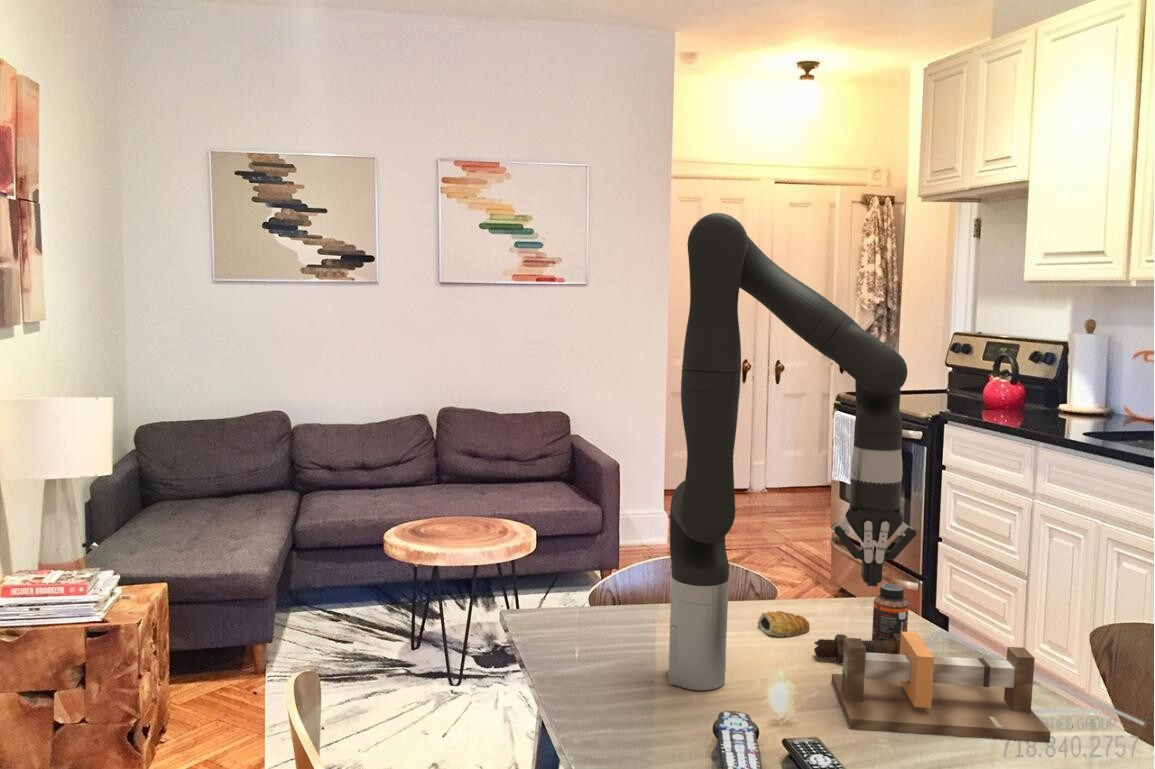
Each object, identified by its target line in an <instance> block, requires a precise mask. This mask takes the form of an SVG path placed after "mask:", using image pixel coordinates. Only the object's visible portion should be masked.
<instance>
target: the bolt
mask: <svg viewBox="0 0 1155 769" xmlns="http://www.w3.org/2000/svg"><path fill="white" fill-rule="evenodd" d="M844 638H848V637H847V635H845V634H842V633H841V634H839V633H838V634H835V636H834V639H829V638H827V639H826V638H825V639H824V638H819V639H818V640H817V641H814V645H816V647H814V654H815V656H816V657H817V658H820V659H821V658H823V659H824V658H825V659H826V658H827V659H828V658H829V659H835V662H837V663H838V664H843V651H844ZM900 638H901V634H893V639H892V641H890V640H884V641H872V639H871V640H869V639H868V640H865V639H863V640H862V642H863V644H864V646H865V648H866V652H867V653H885V654H900Z"/></svg>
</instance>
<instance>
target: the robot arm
mask: <svg viewBox="0 0 1155 769" xmlns="http://www.w3.org/2000/svg"><path fill="white" fill-rule="evenodd" d="M687 253H688V255H687V256H688V257H687V258H688V266H689V267H688V269H689V271H688V272H689V292H690V293H689V294H690V295H689V310H688V311H689V312H688V318H687V323H686V324H687V325H686V330H685V337H684V346H683V355H682V363H681V364H682V365H681V379H680V380H681V381H680V403H681V413H682V414H681V415H682V421H683V422H682V423H683V428H684V429H683V430H684V435H685V444H686V468H685V475H684V476H685V478H684V480H683V481H681V483H680V484H678V485H677V487H676V488H675V489H674V492H673V494H672V496H671V499H670V500H671V501H670V509H669V510H670V511H669V555H670V556H669V557H670V564H671V585H670V586H671V587H670V612H669V613H670V617H669V638H668V639H669V640H668V641H669V642H668V643H669V644H668V646H669V647H668V652H669V653H668V675H667V676H668V682H667V684H668V685H671V686H672V685H673V686H677V687H679V688H682V689H686V690H691V691H712V690H715V689H719V688H721V687H722V686H723V685H725V681H726V668H727V667H726V661H727V635H728V634H727V633H728V632H727V631H728V630H727V629H728V609H729V608H728V606H729V605H728V604H729V579H730V578H729V576H730V572H729V571H730V564H729V560H728V555H727V548H726V536H727V534H728V533H729V532H730V531H731V529H732V526H733V525H734V522H735V518H736V498H735V497H736V494H735V478H734V476H735V473H734V455H735V454H734V452H735V443H736V435H737V426H738V416H739V414H738V413H739V402H740V394H741V392H740V391H741V376H742V374H741V373H742V372H741V371H742V346H741V333H740V331H741V330H740V322H739V294H740V289H741V290H743V291H744V292H745V293H747V294H749V295H750V296H752V297H753V298H754V299H755V300H757V301H758V302H759V303H760V304H761V305H763V306H764V307H765V308H766V309H767V310H768V311H770V312H771V313H772V314H773V315H774V317H775V316H776V318H777V319H778V320H779V321H781V322H782V323H783V324H784V325H785V326H786V327H788V328H789V329H790V330H791V331H792V332H793V333H795V334H796V335H797V336H798V337H800V339H802V340H804V341H805V342H806V343H807V344H808V345H810V346H811V347H812V348H814V349H815V350H816V351H818V352H819V353H821V354H822V355H823V356H824V357H827V358H828V359H829V360H832V361H833V362H834V363H835V364H837V366H839V367H841V369H842V370H844V371H845V372H846V373H847V374H848V375H849V376H850V377H851V378H852V379H854V380H855V381H854V382H855V383H854V384H855V406H856V408H855V409H856V410H855V412H856V413H855V420H854V430H853V431H854V433H853V448H852V455H851V463H850V486H849V487H850V488H849V506H848V510H847V511H846V513H845V518H843V519H842V520H841V521H839V522H838V523H837V522H835V523H833V524H832V525H831V529H832V530H833V533H834V534H835V535H836V536H837V537H838V538H839V540H840V541H841V542H842V544H843V546H845V548H846V550H848V552H849V553H850V554H851V556H852V557H853V558H854V559H855V560H857V559H858V560H860V561H861V575H860V576H861V578H862V581H863V583H865V585H866V586H867V587H878V584H881V583H882V581H883V564H884V563H885V562H887V561H889V560H890V561H893V560H895V559H896V558H897V557H898V556H899V555H900V554H901V552H902V551H904V549H905V548H906V547H907V546H908V545H909V544H910V543H911V541H912V540H913V539H914V538H915V537H916V536H917V530H915V528H913V527H912V526H911V525H908V524H907V523H905V522H904V516H903V515H902V512H901V502H902V501H901V499H902V480H903V475H904V474H903V473H904V472H903V456H902V443H903V442H902V441H903V440H902V439H903V420H902V419H903V418H902V415H901V411H900V403H901V389H902V388H903V386H904V385H905V383H906V381H907V378H908V365H907V363H906V361H905V359H904V357H903V356H902V355H901V354H899V352H897V351H896V350H895V349H893V348H892V347H890V346H889V345H887V344H886V343H884V342H883V341H881V340H880V339H879V338H877V337H876V336H874V335H873V334H871V333H870V332H868V331H867V330H865V329H864V328H862V327H861V326H860V324H858V323H857V322H856V321H855V320H854V319H853V318H852V317H851V316H849V315H848V314H847V313H846V312H844V311H843V310H842V309H840V308H839V307H838V306H836V305H835V304H834V303H833V302H831V301H830V300H829V299H827V298H826V297H825V296H823V295H822V294H821V293H819V292H817V291H816V290H815V289H813V288H811V287H810V286H809V285H807V284H805V283H803V282H802V281H801V280H799V279H798V278H796V277H794V276H793V275H791V274H790V273H788V272H787V271H785V270H784V269H783V268H782V267H781V266H779V265H778V264H776V263H775V262H774V261H773V260H772V259H771V258H770V257H768V255H766V254H765V253H764V252H763V251H762V250H761V249H760V248H759V247H758V246H757V245H756V244H755V242H754V241H753V240H752V239H751V238H750V237H749V235H748V234H747V231H746V230H745V227H744V226H743V224H742V223H741V222H740V221H739V220H738V219H736V218H735V217H734V216H731V215H730V214H727V213H723V212H713V213H709V214H707V215H704V216H703V217H701V218H700V219H699V220H698V221H696V223H695V224H694V225H693V227H692V228H691V230H690V232H689V234H688V238H687ZM849 526H850V527H851V529H852V530H853V531H854V533H855V534H856V536H857V537H858V538H859V543H860V548H857V546H856V545H855V544H854V542H853V541H852V540H851V539H850V537H849V536H848V535H849V534H850V532H851V531H850V529H849ZM896 532H897V533H896ZM895 533H896V534H897V535H896V537H895V538H894V539H893V540H892V541H891V542H890V544H889V545H888V546H887V543H888V541H889V539H891V537H892V536H893V535H894V534H895Z"/></svg>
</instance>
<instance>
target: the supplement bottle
mask: <svg viewBox="0 0 1155 769" xmlns="http://www.w3.org/2000/svg"><path fill="white" fill-rule="evenodd" d="M904 590H905V589H904V587H903V586H901V585H899V584H894V583H883V584H881V585H880V588H879V593H880V594H878V595H876V596H875V598H874V600H873V611H872V612H873V613H872V632H871V633H872V634H871V640H872V641H884V640H890V641H892V639H893V634H901V631H902V632H908V623H909V622H908V621H909V602H908V600H907V599H905V597H904V595H905V592H904Z"/></svg>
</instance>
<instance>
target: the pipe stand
mask: <svg viewBox="0 0 1155 769" xmlns="http://www.w3.org/2000/svg"><path fill="white" fill-rule="evenodd" d="M862 641H863V640H862V638H859V637H858V638H855V637H847V638H844V651H843V663H842V670H841V671H842V673H831V681H830V682H831V685H832V688H833V690H834V693H835V695H836V697H837V700H838V703H839V706H840V708H841V710H842V712H843V715H844V717H845V719H846V720H845V721H846V723H847V725H848V727H849V729H851V730H863V731H879V732H880V731H881V732H894V733H908V734H909V733H911V734H923V733H926V734H925V735H936V736H937V735H940V736H954V737H955V736H956V737H957V736H958V737H969V738H972V737H973V738H984V739H985V738H986V739H1001V740H1013V741H1014V740H1016V741H1027V742H1028V741H1029V742H1047V743H1050V742H1051V731H1050V729H1048V727H1047V726H1046V725H1045V724H1044V722H1043V721H1042V719H1040V718H1039V717H1038V716H1037V714H1036V713H1035V712H1034V710H1032V701H1033V700H1032V699H1033V698H1032V697H1033V687H1034V686H1033V685H1034V672H1035V657H1034V656H1033V654H1031V653H1030V652H1029V651H1028V650H1027V649H1026V648H1025V647H1020V646H1019V647H1018V646H1007V647H1006V648H1007V649H1006V650H1007V651H1006V660H1002V659H988V658H985V659H984V657H981V658H980V657H977V658H972V657H971V658H969V657H952V656H936V655H935V656H934V655H933V656H934V671H933V688H932V704H931V708H924V707H914V705H913V703H912V702H911V700H910V698H909V696H908V695H907V693H906V691H905V690H904V688H903V686H902V684H901V683H900V681H910V676H911V660H910V658H909V657H908V655H902V654H885V653H867V652H866V648H865V646H864V644H863V642H862Z"/></svg>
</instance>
